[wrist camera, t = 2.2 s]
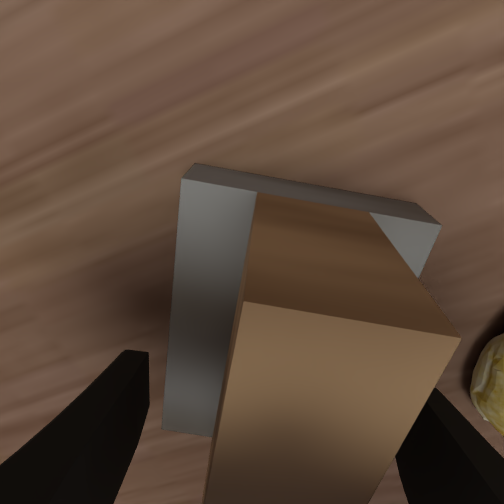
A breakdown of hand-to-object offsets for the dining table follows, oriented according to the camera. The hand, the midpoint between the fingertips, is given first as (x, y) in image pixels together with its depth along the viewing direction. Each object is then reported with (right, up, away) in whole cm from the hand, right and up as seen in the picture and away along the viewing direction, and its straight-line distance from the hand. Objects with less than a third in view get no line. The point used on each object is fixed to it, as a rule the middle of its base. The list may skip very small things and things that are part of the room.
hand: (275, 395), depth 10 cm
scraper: (0, +2, +4) cm, 4 cm away
